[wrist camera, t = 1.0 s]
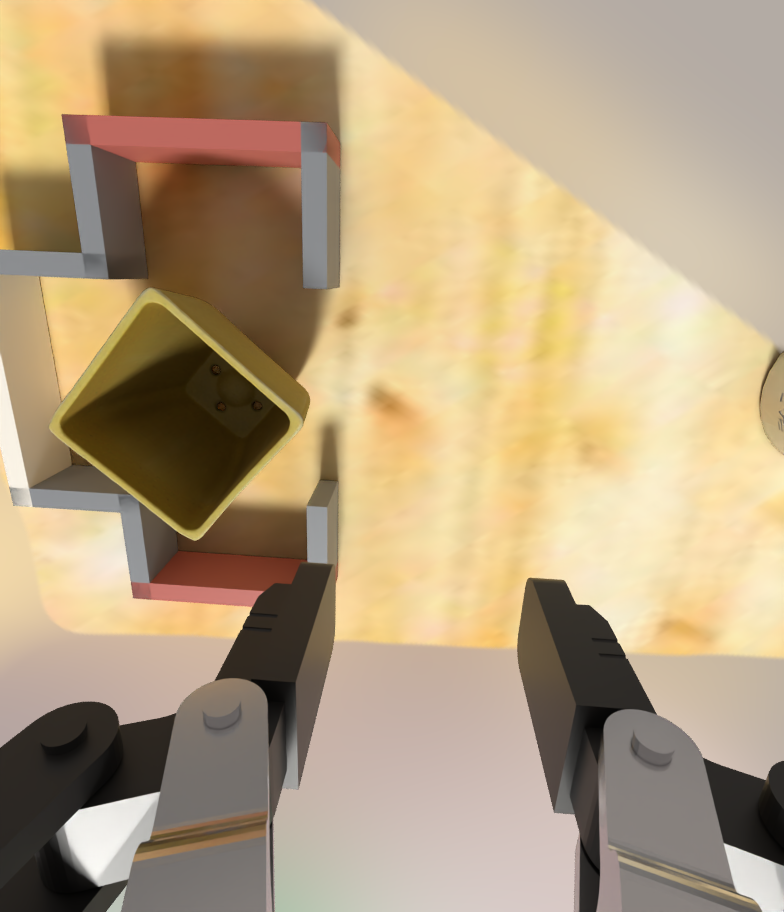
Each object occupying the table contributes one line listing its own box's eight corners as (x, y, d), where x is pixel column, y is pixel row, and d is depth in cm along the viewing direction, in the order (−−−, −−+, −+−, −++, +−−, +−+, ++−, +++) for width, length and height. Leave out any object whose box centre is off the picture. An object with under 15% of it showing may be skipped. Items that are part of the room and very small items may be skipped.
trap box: (-8, 131, 28) (-76, 109, 24) (340, 143, 27) (326, 122, 23) (72, 558, 37) (32, 591, 33) (337, 576, 36) (327, 612, 32)
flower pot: (225, 278, 30) (146, 281, 21) (338, 382, 32) (307, 422, 23) (142, 387, 32) (42, 427, 24) (251, 478, 34) (193, 546, 26)
